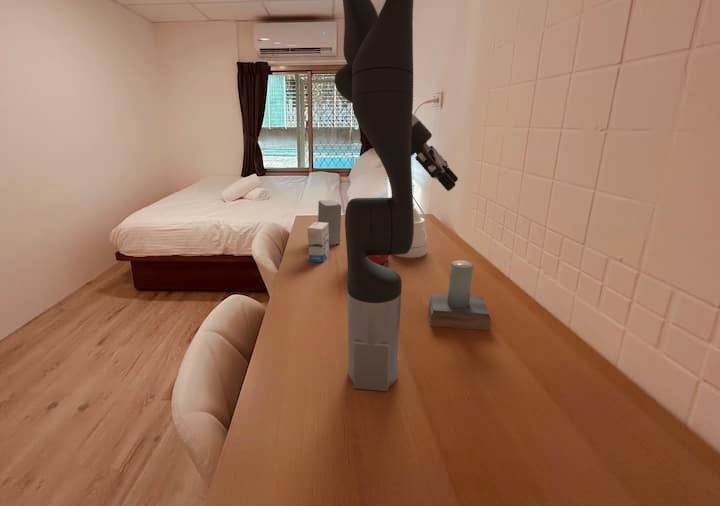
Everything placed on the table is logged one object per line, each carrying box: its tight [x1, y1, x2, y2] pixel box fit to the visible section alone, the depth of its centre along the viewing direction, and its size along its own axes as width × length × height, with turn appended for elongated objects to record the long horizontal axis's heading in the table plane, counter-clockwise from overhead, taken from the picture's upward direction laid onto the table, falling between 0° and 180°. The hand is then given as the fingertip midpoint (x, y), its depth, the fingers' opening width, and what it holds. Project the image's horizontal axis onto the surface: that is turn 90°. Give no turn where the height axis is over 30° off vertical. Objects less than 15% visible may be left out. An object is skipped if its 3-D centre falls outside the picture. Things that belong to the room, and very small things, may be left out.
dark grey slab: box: [428, 293, 492, 331], centre depth 88 cm, size 9×13×4 cm
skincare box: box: [317, 199, 342, 247], centre depth 139 cm, size 8×7×16 cm
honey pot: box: [395, 202, 428, 259], centre depth 130 cm, size 13×13×18 cm
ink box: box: [307, 221, 330, 264], centre depth 124 cm, size 9×5×12 cm, turn 168°
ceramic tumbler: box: [447, 259, 475, 309], centre depth 85 cm, size 5×5×10 cm
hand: (453, 185), depth 85 cm, fingers open, 8 cm apart
